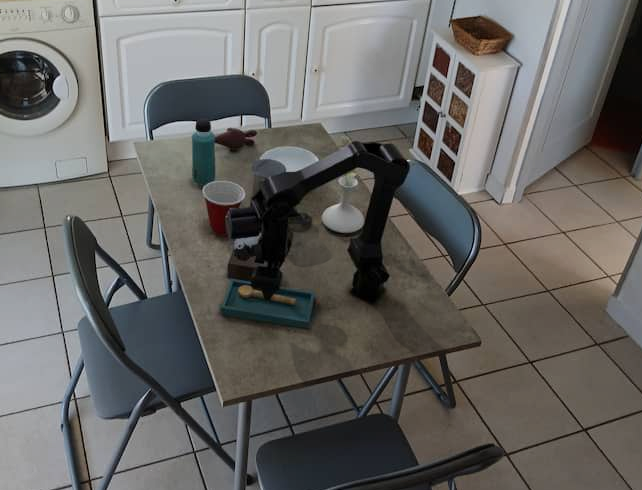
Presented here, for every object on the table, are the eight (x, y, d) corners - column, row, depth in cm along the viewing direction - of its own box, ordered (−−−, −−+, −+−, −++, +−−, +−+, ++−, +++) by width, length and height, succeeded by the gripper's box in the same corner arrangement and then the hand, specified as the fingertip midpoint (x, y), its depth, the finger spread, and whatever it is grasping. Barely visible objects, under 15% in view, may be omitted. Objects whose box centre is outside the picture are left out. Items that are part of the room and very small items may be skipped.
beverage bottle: (220, 182, 210) (221, 120, 198) (205, 193, 205) (205, 130, 194) (202, 174, 213) (201, 112, 201) (186, 184, 208) (185, 122, 196)
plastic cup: (251, 234, 192) (253, 197, 185) (213, 246, 187) (213, 207, 180) (232, 212, 199) (233, 175, 192) (195, 222, 194) (195, 184, 187)
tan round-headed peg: (297, 299, 173) (240, 287, 175) (297, 294, 172) (240, 282, 174) (293, 309, 170) (236, 297, 172) (294, 304, 169) (236, 292, 171)
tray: (314, 298, 175) (315, 292, 173) (308, 328, 166) (309, 322, 165) (230, 285, 176) (231, 278, 175) (220, 314, 168) (220, 307, 167)
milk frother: (245, 205, 202) (247, 159, 194) (301, 200, 207) (305, 155, 198) (256, 237, 191) (259, 190, 183) (315, 231, 196) (320, 185, 187)
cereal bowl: (299, 161, 223) (300, 140, 219) (328, 189, 212) (330, 169, 208) (248, 173, 215) (249, 152, 211) (276, 204, 204) (277, 183, 200)
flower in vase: (369, 234, 197) (383, 154, 182) (328, 239, 193) (339, 158, 179) (353, 206, 207) (364, 127, 192) (314, 210, 203) (322, 131, 189)
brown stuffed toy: (213, 140, 216) (261, 138, 222) (207, 123, 220) (254, 120, 226) (209, 157, 221) (256, 154, 227) (203, 139, 225) (250, 137, 231)
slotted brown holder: (273, 268, 182) (274, 254, 180) (269, 284, 177) (270, 269, 175) (233, 261, 183) (233, 247, 180) (227, 277, 178) (227, 263, 175)
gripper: (247, 201, 166) (244, 254, 176) (227, 252, 151) (226, 308, 161) (296, 208, 166) (291, 262, 175) (281, 261, 151) (276, 316, 160)
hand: (270, 286), depth 168 cm, fingers open, 9 cm apart
